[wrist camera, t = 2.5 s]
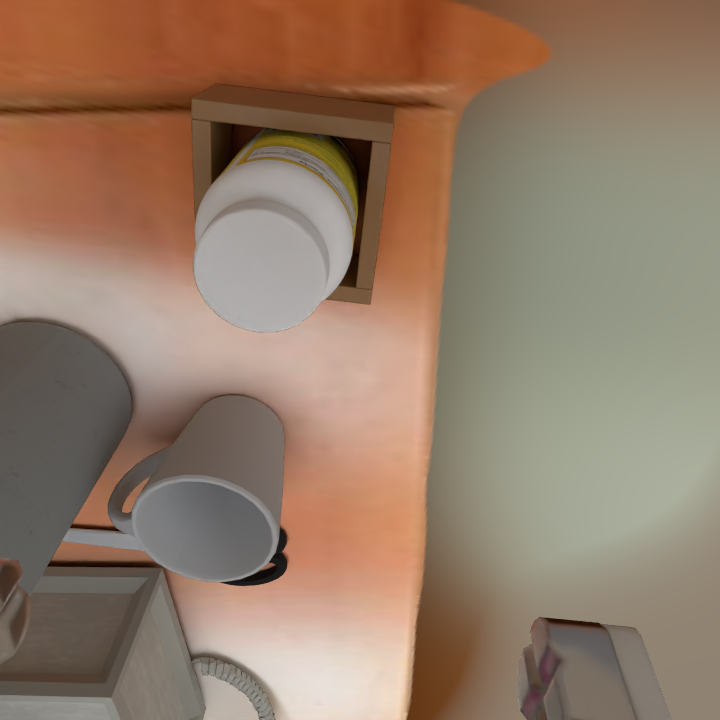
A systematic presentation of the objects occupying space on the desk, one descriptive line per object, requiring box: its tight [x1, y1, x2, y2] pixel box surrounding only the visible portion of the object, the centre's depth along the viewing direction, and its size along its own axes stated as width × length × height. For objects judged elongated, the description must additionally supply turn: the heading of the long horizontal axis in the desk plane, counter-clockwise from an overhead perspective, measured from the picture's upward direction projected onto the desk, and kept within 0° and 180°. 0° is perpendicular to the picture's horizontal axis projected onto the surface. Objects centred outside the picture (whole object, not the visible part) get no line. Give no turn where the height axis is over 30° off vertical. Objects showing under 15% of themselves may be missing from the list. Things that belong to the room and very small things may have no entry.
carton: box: [191, 84, 395, 305], centre depth 30 cm, size 8×8×4 cm
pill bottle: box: [193, 128, 360, 332], centre depth 27 cm, size 6×6×11 cm
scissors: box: [62, 528, 287, 586], centre depth 45 cm, size 7×1×20 cm
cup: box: [108, 395, 285, 582], centre depth 36 cm, size 8×10×8 cm
